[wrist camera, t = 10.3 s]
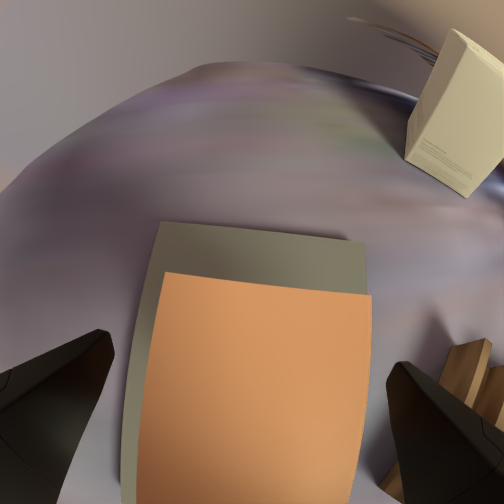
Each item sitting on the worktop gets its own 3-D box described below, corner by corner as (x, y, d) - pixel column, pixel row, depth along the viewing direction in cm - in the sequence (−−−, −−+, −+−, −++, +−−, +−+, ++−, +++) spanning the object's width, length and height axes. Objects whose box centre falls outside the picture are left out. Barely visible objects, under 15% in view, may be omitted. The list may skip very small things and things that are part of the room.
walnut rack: (477, 504, 8) (501, 511, 5) (378, 487, 12) (405, 505, 8) (525, 401, 12) (551, 398, 9) (451, 347, 16) (485, 337, 12)
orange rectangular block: (267, 434, 13) (323, 570, 2) (213, 427, 13) (137, 552, 2) (277, 351, 15) (371, 295, 4) (224, 344, 15) (165, 270, 4)
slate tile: (332, 516, 11) (339, 525, 9) (129, 494, 11) (121, 502, 10) (356, 251, 19) (364, 242, 18) (165, 231, 19) (160, 220, 18)
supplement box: (467, 202, 22) (544, 109, 8) (402, 161, 23) (465, 41, 10) (462, 154, 25) (515, 72, 12) (407, 119, 27) (449, 25, 13)
